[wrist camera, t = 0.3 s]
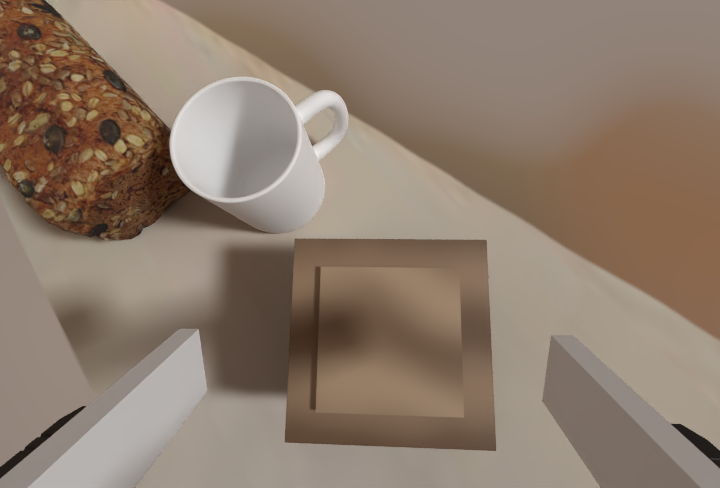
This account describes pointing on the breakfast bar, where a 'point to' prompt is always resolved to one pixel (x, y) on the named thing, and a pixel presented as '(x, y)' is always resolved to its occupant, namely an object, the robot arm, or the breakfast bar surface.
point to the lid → (391, 344)
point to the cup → (255, 151)
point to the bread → (78, 130)
